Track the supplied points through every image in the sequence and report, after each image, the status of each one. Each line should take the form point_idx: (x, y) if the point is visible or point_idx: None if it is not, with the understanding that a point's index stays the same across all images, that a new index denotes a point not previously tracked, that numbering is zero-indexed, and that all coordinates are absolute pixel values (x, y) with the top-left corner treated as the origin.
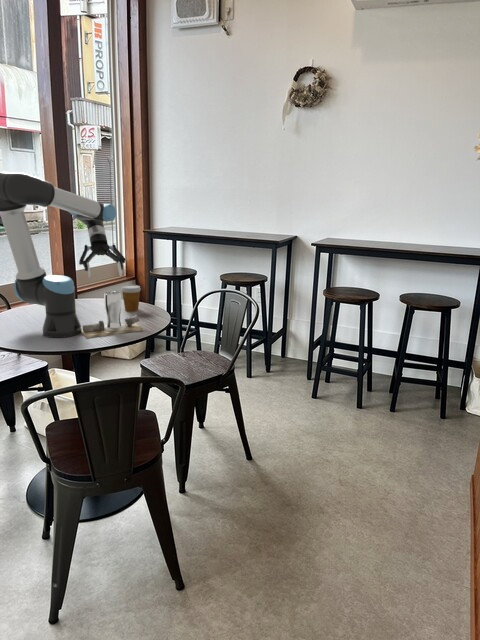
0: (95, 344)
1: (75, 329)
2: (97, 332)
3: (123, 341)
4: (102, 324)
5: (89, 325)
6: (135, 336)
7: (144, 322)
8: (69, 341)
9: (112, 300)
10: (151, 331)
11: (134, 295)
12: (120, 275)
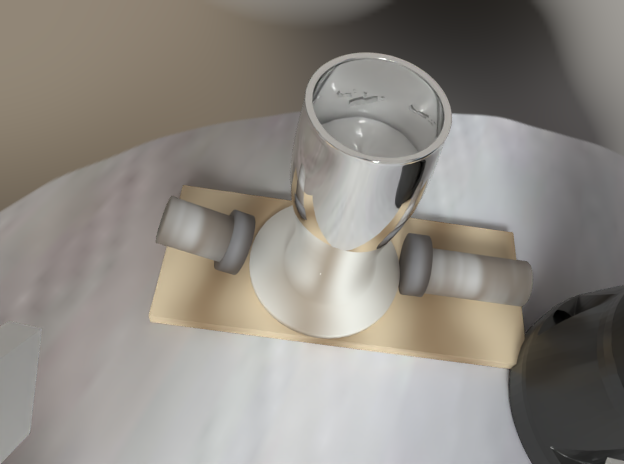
0: (483, 142)
1: (569, 299)
2: (442, 249)
3: None
4: (419, 234)
5: (495, 260)
6: (273, 134)
7: (61, 326)
8: (592, 240)
9: (391, 97)
10: (156, 153)
11: None
12: (26, 397)
